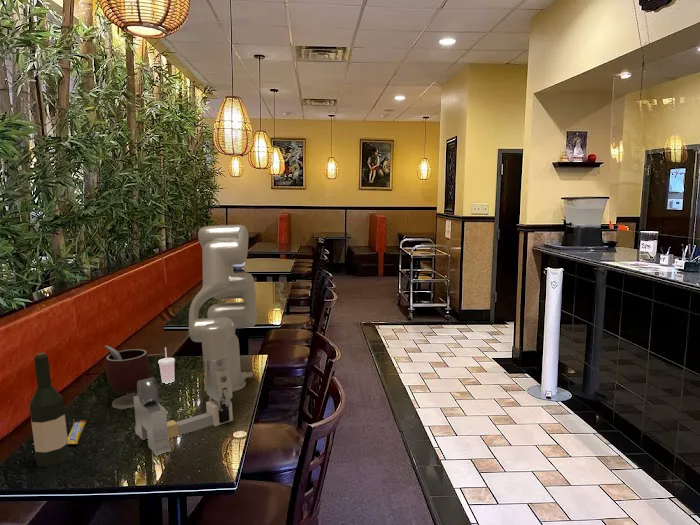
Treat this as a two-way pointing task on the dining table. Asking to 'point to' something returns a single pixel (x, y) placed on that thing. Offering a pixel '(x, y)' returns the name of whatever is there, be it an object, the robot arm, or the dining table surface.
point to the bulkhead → (151, 417)
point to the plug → (198, 420)
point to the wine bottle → (48, 418)
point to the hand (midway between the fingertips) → (219, 417)
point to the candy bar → (76, 432)
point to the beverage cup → (167, 369)
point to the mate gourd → (126, 374)
